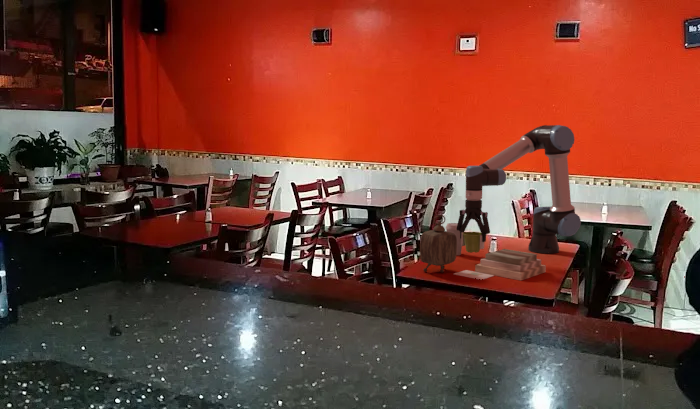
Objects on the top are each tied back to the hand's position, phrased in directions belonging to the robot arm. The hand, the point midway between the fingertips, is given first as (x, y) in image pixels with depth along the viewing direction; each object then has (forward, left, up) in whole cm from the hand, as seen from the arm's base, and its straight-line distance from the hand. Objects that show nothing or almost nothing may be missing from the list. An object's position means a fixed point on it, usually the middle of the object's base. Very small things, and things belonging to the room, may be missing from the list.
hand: (472, 247), depth 291 cm
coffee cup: (-11, -17, -8) cm, 22 cm away
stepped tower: (+3, +22, -7) cm, 23 cm away
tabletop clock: (+26, 0, -8) cm, 27 cm away
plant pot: (0, 0, -2) cm, 2 cm away
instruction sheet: (+20, +14, -7) cm, 26 cm away
